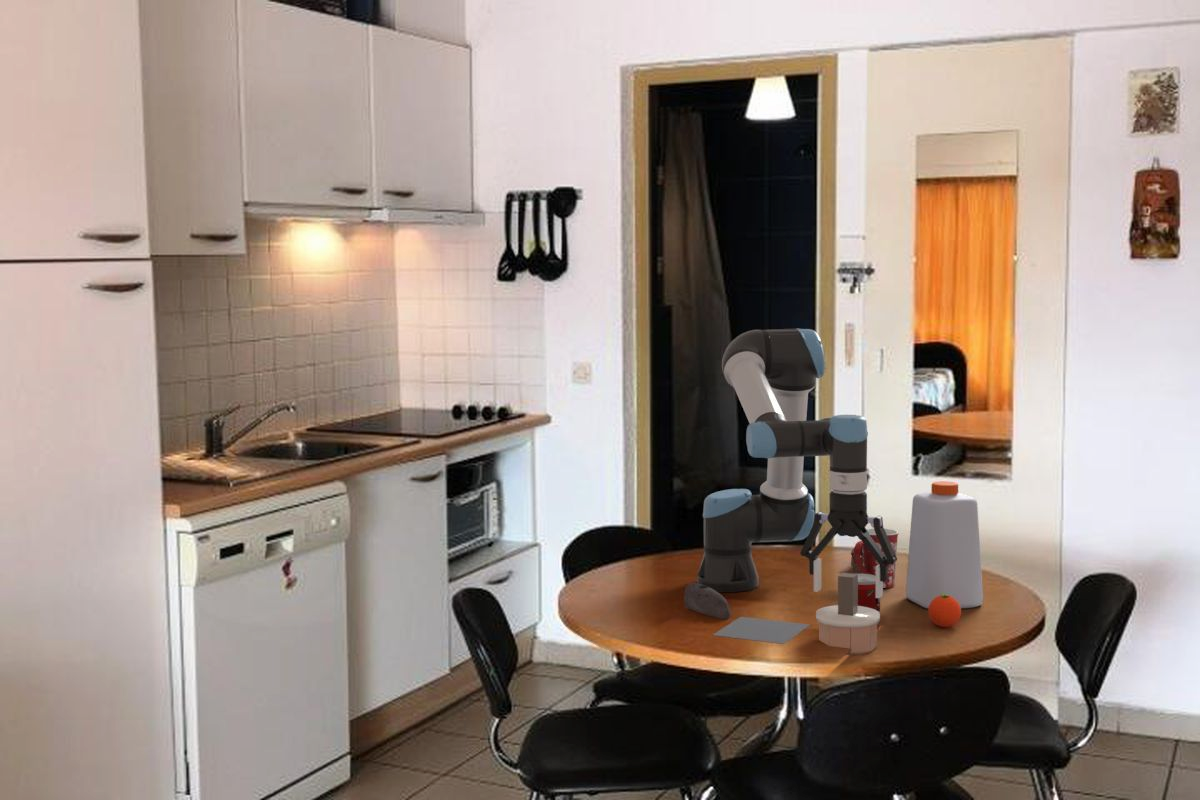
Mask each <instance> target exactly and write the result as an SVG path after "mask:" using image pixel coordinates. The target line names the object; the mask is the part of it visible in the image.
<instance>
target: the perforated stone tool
mask: <svg viewBox="0 0 1200 800" xmlns="http://www.w3.org/2000/svg"><path fill="white" fill-rule="evenodd" d="M683 598H684V599H683V603H684V606H685V607H686V609H687V610H691V611H693V612H697V613H699V614H702V615H706V616H709V617H712V618H716V619H723V620H728V619H729V618H730V617H731V609H730V605H729V603H728V601H727V599H726V598H725V597H724V596H723V595H722V594H721V593H720V592H717V591H715V590H713V589H712V588H710V587H708V586H705V585H702V584H699V583H697V582H691V583H690V584H687V586H686V587H685V589H684V595H683Z"/></svg>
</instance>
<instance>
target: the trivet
mask: <svg viewBox="0 0 1200 800" xmlns="http://www.w3.org/2000/svg"><path fill="white" fill-rule="evenodd" d="M809 626H810V624H808V623H798V622H792V621H791V622H789V621H781V620H773V619H763V618H757V617H746V616H740V617H737V618H736V619H735V620H733V621H732V622H730V623H729V624H727V625H726V626H724V627H723V628H721V629H719V630H718V631H717V632H715V633H713V634H712V636H716V637H723V638H724V637H725V638H732V639H740V640H747V641H755V642H763V643H765V642H766V643H772V644H773V643H774V644H779V645H780V644H781V645H785V644H786V643H788V642H790V641H791V640H792V639H793V638H795V637H796V636H798V634H800V633H801V632H803V631H805V629H807V628H808V627H809Z"/></svg>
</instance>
